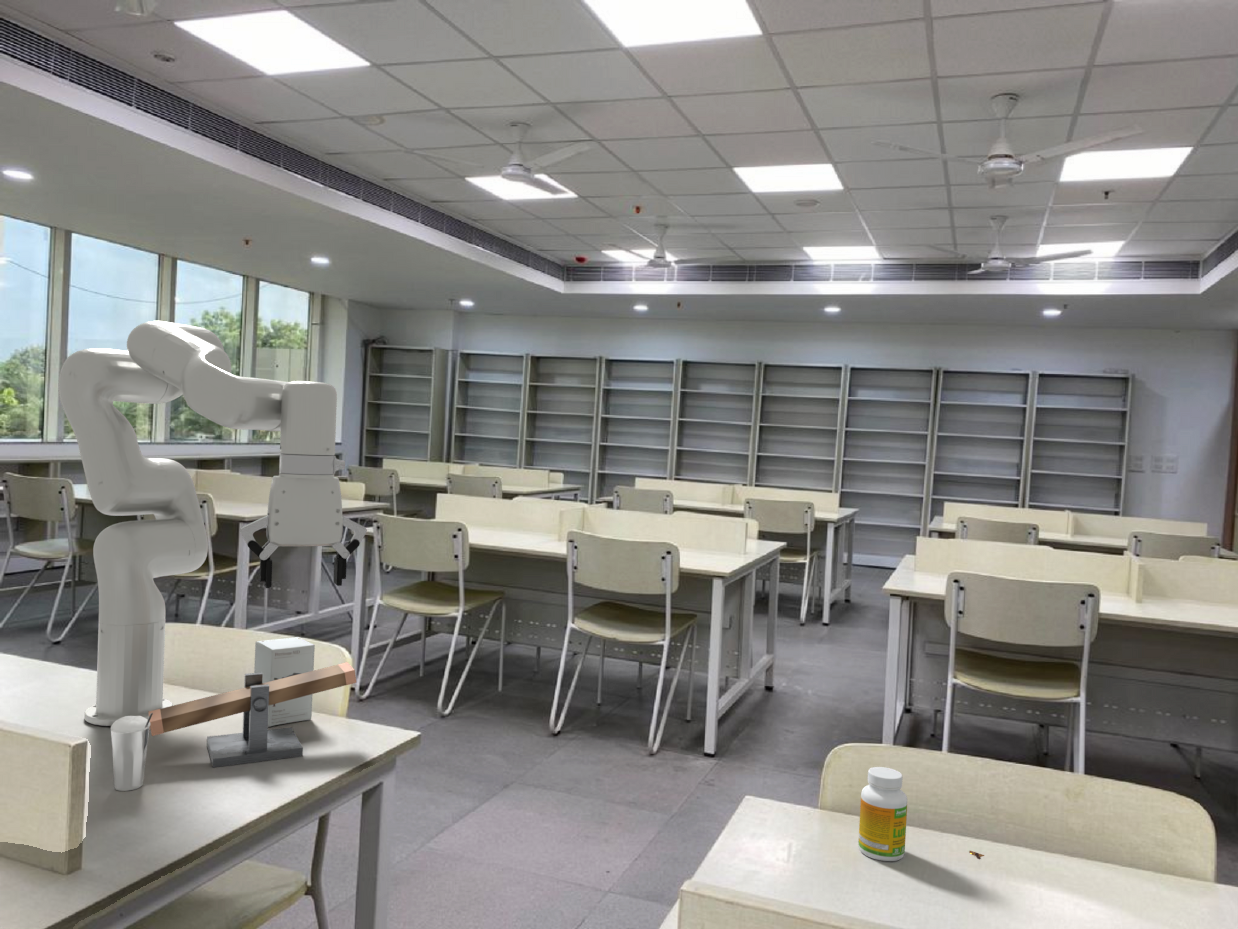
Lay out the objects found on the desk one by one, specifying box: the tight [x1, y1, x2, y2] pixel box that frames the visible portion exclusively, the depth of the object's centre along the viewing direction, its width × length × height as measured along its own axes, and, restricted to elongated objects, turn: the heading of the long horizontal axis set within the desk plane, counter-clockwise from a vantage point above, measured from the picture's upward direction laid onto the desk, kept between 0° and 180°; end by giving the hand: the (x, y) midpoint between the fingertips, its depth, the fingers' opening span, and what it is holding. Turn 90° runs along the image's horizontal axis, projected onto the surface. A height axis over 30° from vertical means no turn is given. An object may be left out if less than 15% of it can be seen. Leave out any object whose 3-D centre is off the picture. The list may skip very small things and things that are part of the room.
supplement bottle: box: [857, 766, 908, 862], centre depth 107 cm, size 5×5×10 cm
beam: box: [149, 661, 357, 737], centre depth 131 cm, size 28×5×2 cm, turn 119°
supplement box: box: [253, 636, 316, 728], centre depth 146 cm, size 7×7×13 cm
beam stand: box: [206, 672, 304, 768], centre depth 131 cm, size 12×10×10 cm
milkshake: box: [110, 713, 153, 792], centre depth 116 cm, size 5×5×10 cm
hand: (303, 585), depth 128 cm, fingers open, 9 cm apart
